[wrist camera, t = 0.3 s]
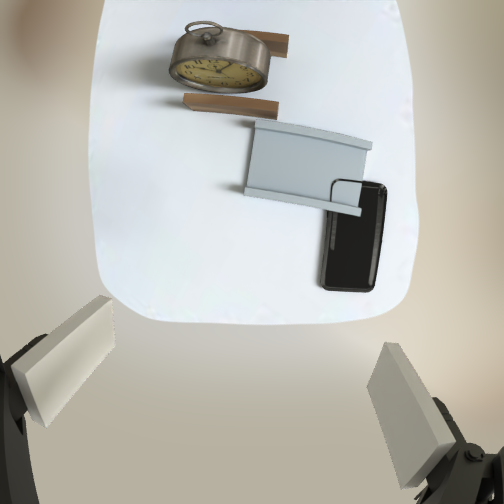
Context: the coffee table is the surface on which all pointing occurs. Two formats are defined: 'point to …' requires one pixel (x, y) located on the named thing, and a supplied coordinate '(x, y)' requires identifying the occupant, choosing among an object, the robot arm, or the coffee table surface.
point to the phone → (355, 242)
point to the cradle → (306, 166)
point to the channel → (241, 104)
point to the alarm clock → (220, 60)
